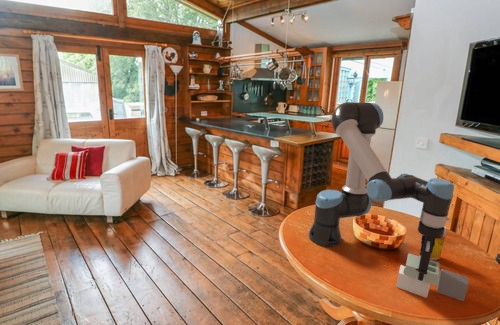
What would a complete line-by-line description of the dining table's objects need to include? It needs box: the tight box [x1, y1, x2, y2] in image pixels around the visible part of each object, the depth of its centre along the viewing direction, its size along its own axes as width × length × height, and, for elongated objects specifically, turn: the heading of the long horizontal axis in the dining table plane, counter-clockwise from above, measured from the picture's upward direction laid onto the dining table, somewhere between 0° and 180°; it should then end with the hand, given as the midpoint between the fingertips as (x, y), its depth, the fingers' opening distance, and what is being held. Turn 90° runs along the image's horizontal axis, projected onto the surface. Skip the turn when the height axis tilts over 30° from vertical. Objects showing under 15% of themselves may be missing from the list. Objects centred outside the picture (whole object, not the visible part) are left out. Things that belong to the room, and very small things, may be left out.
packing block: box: [436, 268, 469, 302], centre depth 104 cm, size 8×5×7 cm, turn 57°
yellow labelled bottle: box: [430, 225, 447, 261], centre depth 125 cm, size 6×6×15 cm
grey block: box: [404, 252, 440, 287], centre depth 103 cm, size 10×9×4 cm
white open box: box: [395, 264, 431, 299], centre depth 105 cm, size 10×6×10 cm, turn 57°
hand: (419, 279), depth 104 cm, fingers closed on grey block, 9 cm apart
